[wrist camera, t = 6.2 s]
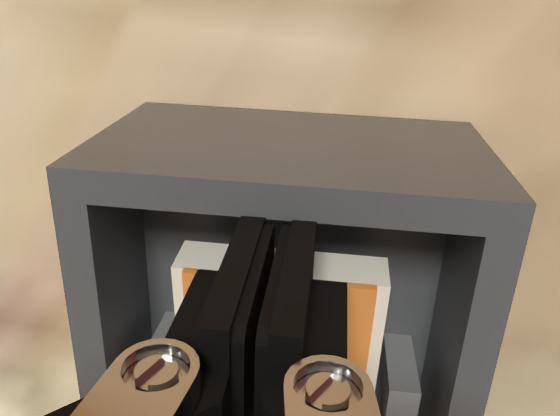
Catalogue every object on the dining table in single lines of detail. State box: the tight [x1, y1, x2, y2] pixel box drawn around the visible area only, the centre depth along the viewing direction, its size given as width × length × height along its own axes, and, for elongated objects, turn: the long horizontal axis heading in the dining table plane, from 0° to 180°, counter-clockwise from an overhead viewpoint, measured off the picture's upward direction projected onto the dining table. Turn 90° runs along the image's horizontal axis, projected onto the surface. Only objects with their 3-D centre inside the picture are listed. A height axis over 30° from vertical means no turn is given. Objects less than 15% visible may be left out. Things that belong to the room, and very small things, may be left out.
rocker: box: [171, 240, 391, 391], centre depth 14 cm, size 8×5×1 cm, turn 178°
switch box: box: [46, 102, 536, 416], centre depth 16 cm, size 13×10×6 cm
